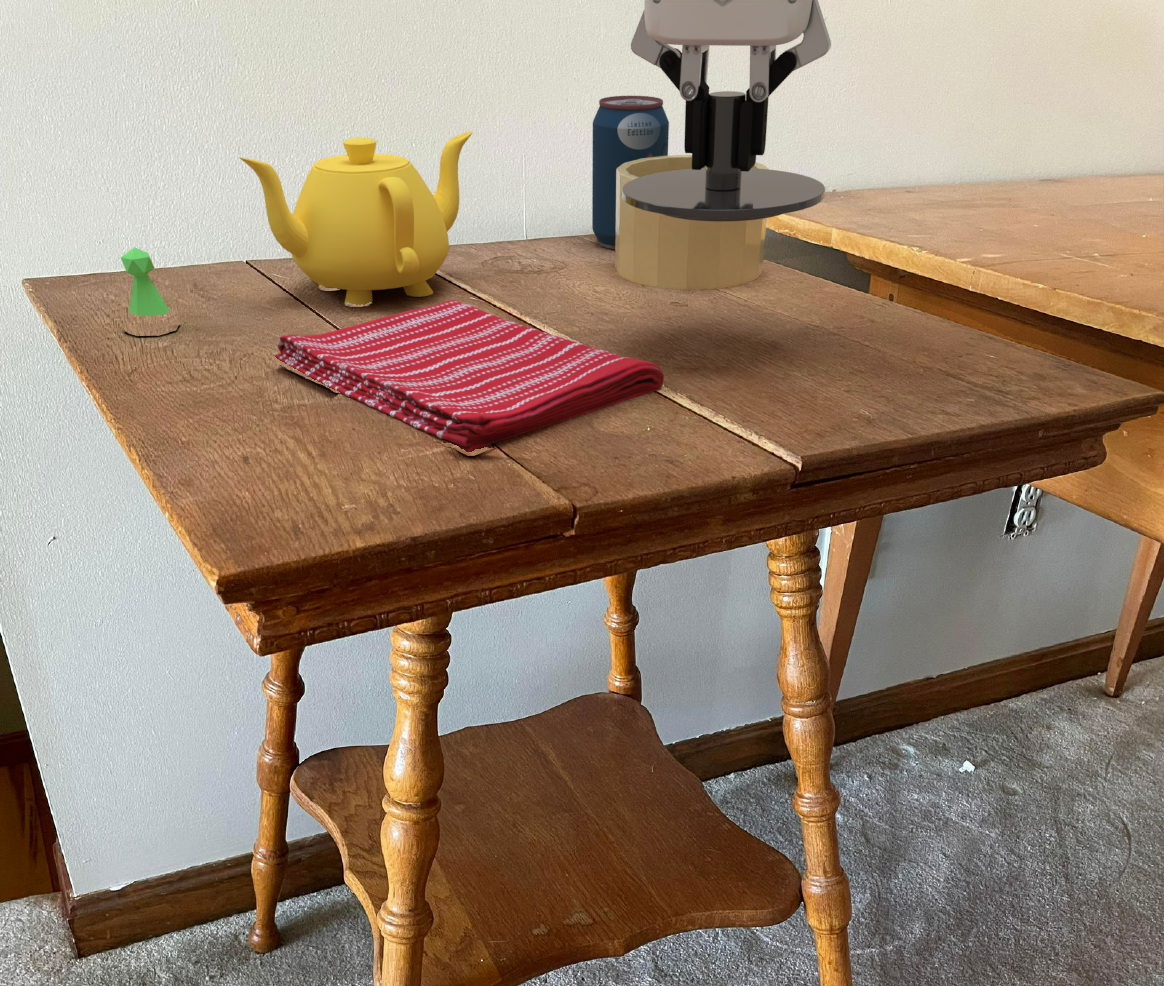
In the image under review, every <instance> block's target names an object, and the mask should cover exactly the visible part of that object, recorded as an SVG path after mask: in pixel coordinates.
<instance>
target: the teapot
mask: <svg viewBox="0 0 1164 986" xmlns="http://www.w3.org/2000/svg"><path fill="white" fill-rule="evenodd" d="M472 134H473V131H466V132H463V133H461V134H459V135H456V136H454V137H452V138H451V139H449V140H448V141H447V142H446V144H445V145H444V147H443V149H442V151H441V155H440V161H439V175H438V183H437V186H436V189H435V191H434V192H433V193H432V191H431V190H430V188H429V187H428V185H427V184H426V182H425V180H424V179H423V178H422V176H421V174H420V172H419V171H418V170H417V168H416V167H415V166H414V164H413V163H412V161H410V160H409V159H407V158H406V157H404V156H399V155H395V154H388V153H376V148H377V140H375V139H373V138H371V137H353V138H348V139H344V141H342V145H343V147H344V150H345V152H346V154H342V155H334V156H329V157H325V158H322V159H318V160H317V161H315V162H314V164H313V165H312V166H311V168H310V170H309V173H307V176H306V178H305V181H304V183H303V185H302V187H301V190H300V193H299V195H298V198H297V201H296V204H295V207H294V210H293V213H292V212H291V210H290V208H289V206H288V203H287V200H286V196H285V194H284V189H283V186H282V182H281V179H280V177H279V174H278V173H277V171H276V170H275V168H274V167H273V166H272V165H270V163H268V162H266V161H261V160H256V159H251V158H246V157H240V156H239V157H238V159H239V160H241V161H242V162H243V163H245V164H246V165H248V167H249V168H251V169H252V170H253V172H254V173H255V174H256V176H257V177H258V179H259V183H260V184H261V187H262V192H263V198H264V204H265V210H266V217H267V222H268V225H269V228H270V231H271V233H272V235H273V237H274V238H275V240H276V242H277V243H278V244H279V245H280V246H281V248H283V249H284V250H285V251H287V252H288V253H290V254H291V258H292V259H293V261H294V263H295V264H296V265H297V267H299V269H300V270H301V271H302V272H303V273H304V274H305V276H307V277H308V278H309V279H310V280H311V281H312V282H314V283H316V284H317V285H318V287H319V286H322V287H325V288H337V289H342V290H346V294H345V299H344V302H345V301H346V302H349V303H352V304H356V305H358V304H359V305H361V304H363V305H365V304H367V303H369V302H372V301H373V291H378V290H380V291H381V290H389V289H397V288H403V290H404V292H405V294H406V295H407V296H409V295H410V296H409V297H415V298H416V297H418V298H421V297H422V298H423V297H426V296H427V297H428V296H432V295H433V294H434V291H433V290H432V288H431V286H430V285H429V284H428V282H427V281H428V280H429V279H431V278H433V277H434V276H435V275H436V274H437V272H439V270H440V268H441V267H442V265H443V264H444V262H445V261H446V259H447V257H448V256H449V252H450V242H449V235H448V232H449V231H450V230H451V228H452V227H453V226H454V223H455V222H456V219H457V217H458V213H459V208H460V184H459V159H460V154H461V153H462V149H463V147H464V145H465V144H466V143H467V142H468V139H469V138H470V137H471V136H472Z"/></svg>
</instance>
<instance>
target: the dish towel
mask: <svg viewBox="0 0 1164 986" xmlns="http://www.w3.org/2000/svg"><path fill="white" fill-rule="evenodd" d="M277 348H278V351H279V352H280V353H277V354H274V358H275V357H276V358H277V359H279V360H280V361H282V362H284V363H285V364H287V365H288V366H291V367H293V368H294V369H297V370H298V371H300V372H302V373H303V374H305V375H306V376H307V377H311V378H312V379H314V380H317V381H318V382H321V383H322V384H324V385H325V386H328V387H329V388H332V389H334V390H337V391H339V392H340V394H341V393H343V394H342V395H344V394H345V395H344V396H345V397H347V396H349V397H351V398H350V399H353V400H356V401H358V402H360V403H362V404H364V405H366V406H367V405H368V407H369V406H370V407H369V408H371V407H372V408H371V409H374V410H377V411H378V412H381V413H383V414H386V415H387V414H388V415H387V416H389V415H390V416H389V417H391V418H393V417H394V418H393V419H397V420H399V421H401V422H403V423H404V422H405V423H404V424H406V423H407V424H406V425H408V426H410V427H412V428H414V429H416V430H420V431H423V432H425V433H428V434H430V435H433V436H435V437H437V438H438V439H441V440H445V441H446V442H450V443H452V444H454V445H457V446H459V447H460V448H461V449H464V450H465V451H466V452H472V451H474V450H475V449H481V448H484V447H488V446H489V445H491V444H494V443H497V442H501V441H503V440H504V441H505V440H508V439H510V438H514V437H517V436H519V435H523V434H525V433H528V432H531V431H532V432H533V431H535V430H538V429H541V428H544V427H547V426H551V425H554V424H557V423H560V422H563V421H567V420H569V419H572V418H575V417H578V416H582V415H584V414H585V415H586V414H589V413H591V412H594V411H598V410H601V409H603V408H606V407H609V406H612V405H615V404H619V403H622V402H624V401H628V400H631V399H635V398H637V397H641V396H644V395H647V394H650V393H655V392H659V391H660V390H661V388H662V386H663V384H664V380H665V374H664V372H663V370H662V369H661V367H660V366H659V365H657V364H656V363H654V362H652V361H646V360H641V359H637V358H633V357H628V356H621V355H618V354H616V353H612V352H610V351H607V350H605V349H601V348H595V347H592V346H588V345H587V344H584V343H582V342H576V341H573V340H570V339H568V338H564V337H562V336H560V335H556V334H552V333H549V332H545V331H542V330H539V329H537V328H531V327H528V326H526V325H522V324H521V323H518V322H515V321H511V320H507V319H505V318H502V317H499V316H497V315H495V314H492V313H488V312H487V311H484V310H482V309H481V308H478V307H476V306H475V305H472V304H468V303H465V302H462V301H458V300H455V299H450V300H445V301H443V302H440V303H437V304H433V305H430V306H425V307H421V308H415V309H411V310H406V311H402V312H399V313H394V314H390V315H387V316H384V317H380V318H375V319H373V320H369V321H366V322H362V323H359V324H355V325H352V326H347V327H343V328H339V329H336V330H333V331H328V332H324V333H320V334H319V333H318V334H308V335H307V334H306V335H305V334H304V335H303V334H302V335H301V334H300V335H297V334H285V335H282V336H279V338H278V341H277ZM349 397H348V398H349Z"/></svg>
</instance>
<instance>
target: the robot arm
mask: <svg viewBox="0 0 1164 986" xmlns="http://www.w3.org/2000/svg"><path fill="white" fill-rule="evenodd" d="M643 7H644V9H643V11H642V14H641V17H640V19H639V22H638V24H637V26H636V29H635V32H634V34H633V37H632V38H631V42H630V50H631V52H632V53H633V54H634V55H636V56H638V57H640V58H642V59H643V60H644V61H646V62H648V63H650V64H652V65H653V66H656V67H658V68H659V69H661V71H662V72H663V74H664V75H665V76H666V77H667V79H669V80H670V82H671V84H673V86H674V87H675V88H676V89H677V90H678V92H679V94H680V97H681V98H682V99H683V100H684V101H685V108H684V111H685V113H684V115H685V116H684V142H683V143H684V147H683V148H684V154H691V155H692V170H701V169H702V168H704V167H705V166H706V151H707V124H708V96H709V94H710V86H709V85H708V72H709V57H710V46H724V47H725V46H727V47H728V46H733V47H734V46H736V47H737V46H738V47H739V46H741V47H743V46H745V47H746V46H747V47H749V88H747V90H746V91H745V94H746V101H745V102H743V103H742V104H741V108H740V127H739V147H738V169H740V171H747V172H748V171H749V170H750V169H751V168H752V167H753V166H754V165H755V162H756V161H757V156H764V154H765V152H766V143H767V130H768V129H767V127H768V115H769V114H768V113H769V97H770V96H771V95H772V94H773V93H774V91H776V89H778V87H779V86H780V85H781V84H782V83H783V82H784V81H785V80H786V79H787V78H788V77H789V76H790V75H791V74H792V73H793V72H794V71H796V70H799V69H800V68H803V67H805V66H807V65H809V64H810V63H813V62H814V61H817V60H819V59H820V58H822V57H824V56H825V55H827V54H828V53H829V52H830V50H831V47H832V40H831V37H830V35H829V30H828V28H827V25H826V21H825V19H824V15H823V12H822V9H821V6H820V2H819V0H644V6H643ZM802 34H803V37H802V40H801V42H799V43H797V44H795V45H794V46H792V47H790V48H788V49H786V50H784V51H783V52H782V53H781V54H779V55H778V57H777V46H779V45H780V46H781V45H786V44H789V43H791V42H793V41H794V40H797V39H798V38H799V37H801V35H802ZM671 45H674V46H682V49H681V50H680V49H679V48H676V47H673V46H671Z"/></svg>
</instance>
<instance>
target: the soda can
mask: <svg viewBox="0 0 1164 986" xmlns="http://www.w3.org/2000/svg"><path fill="white" fill-rule="evenodd" d="M598 105H599V107H598V108H597V111H596V113H595V115H594V117H593V120H592V172H591V173H592V175H591V176H592V179H591V181H592V185H591V186H592V187H591V189H592V191H591V193H592V194H591V195H592V196H591V197H592V200H591V202H592V204H591V205H592V209H591V210H592V214H591V215H592V216H591V220H592V221H591V223H592V226H591V229H592V232H593V234H594V236H595V238H596V239H597V241H598V244H599V245H600V246H602V247H603V248H606V249H609V250H610V249H611V250H615V242H616V169H617V168H618V167H619V166H621V165H622V164H623V163H626V162H630V161H634V160H638V159H641V158H650V157H659V156H669V137H670V136H669V135H670V133H669V131H670V122H669V119H668V116H667V114H666V110H665V109H664V100H663V99H662V98H659V97H656V96H649V95H615V96H614V95H613V96H607V97H603V98H601V99H599V100H598Z"/></svg>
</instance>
